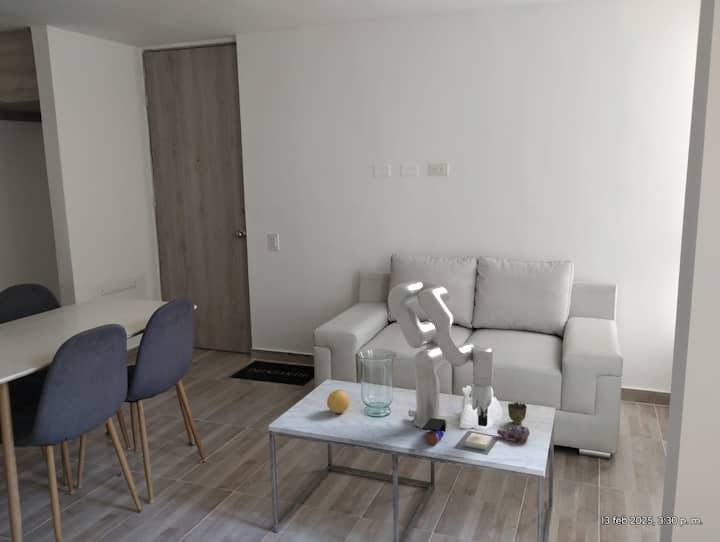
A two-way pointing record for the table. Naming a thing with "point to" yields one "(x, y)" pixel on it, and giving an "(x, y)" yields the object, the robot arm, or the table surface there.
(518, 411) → the cup
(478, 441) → the tile
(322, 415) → the table surface
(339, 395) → the orange fruit
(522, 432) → the skull
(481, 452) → the mat
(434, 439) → the figurine character
